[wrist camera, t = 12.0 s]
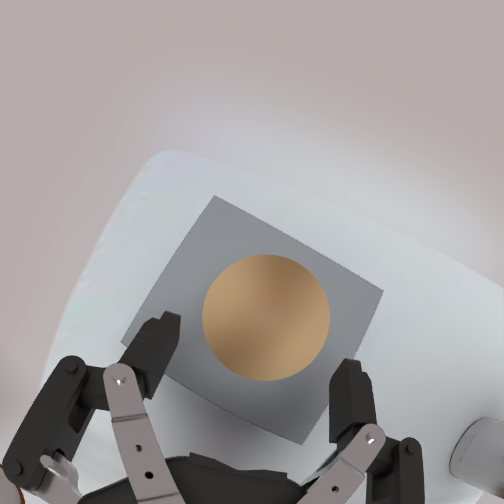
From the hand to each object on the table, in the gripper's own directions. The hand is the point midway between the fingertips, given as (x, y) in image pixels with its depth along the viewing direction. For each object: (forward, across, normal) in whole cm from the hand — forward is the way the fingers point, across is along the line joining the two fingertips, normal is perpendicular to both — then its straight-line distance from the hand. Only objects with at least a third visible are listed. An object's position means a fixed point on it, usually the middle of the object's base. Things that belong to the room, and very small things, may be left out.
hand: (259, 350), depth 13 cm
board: (+10, 0, +8) cm, 12 cm away
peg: (+10, 0, +8) cm, 12 cm away
